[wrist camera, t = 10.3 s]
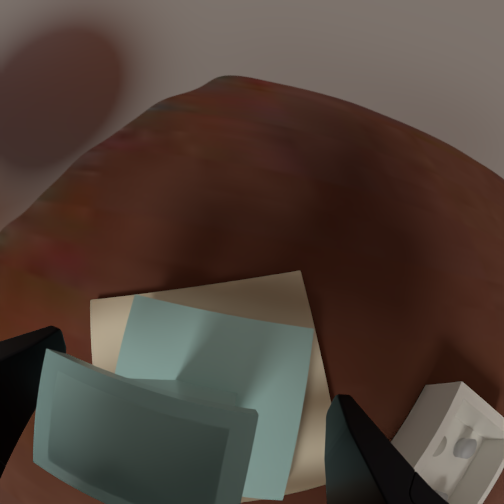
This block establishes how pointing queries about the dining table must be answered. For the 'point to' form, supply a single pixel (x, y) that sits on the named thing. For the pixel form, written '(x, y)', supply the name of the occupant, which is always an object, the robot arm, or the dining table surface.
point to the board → (247, 306)
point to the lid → (177, 409)
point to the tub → (454, 442)
